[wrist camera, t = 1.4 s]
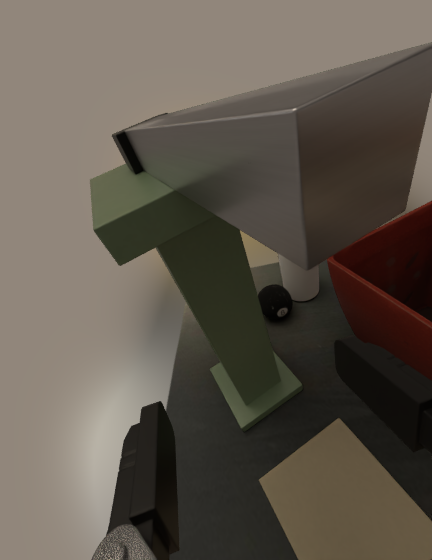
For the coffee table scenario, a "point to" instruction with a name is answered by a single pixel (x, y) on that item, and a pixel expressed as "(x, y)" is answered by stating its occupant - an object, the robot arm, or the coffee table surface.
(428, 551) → the mat
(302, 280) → the can
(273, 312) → the billiard ball
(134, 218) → the stand
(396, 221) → the flower pot
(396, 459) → the coffee table surface
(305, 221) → the grey metal bar
